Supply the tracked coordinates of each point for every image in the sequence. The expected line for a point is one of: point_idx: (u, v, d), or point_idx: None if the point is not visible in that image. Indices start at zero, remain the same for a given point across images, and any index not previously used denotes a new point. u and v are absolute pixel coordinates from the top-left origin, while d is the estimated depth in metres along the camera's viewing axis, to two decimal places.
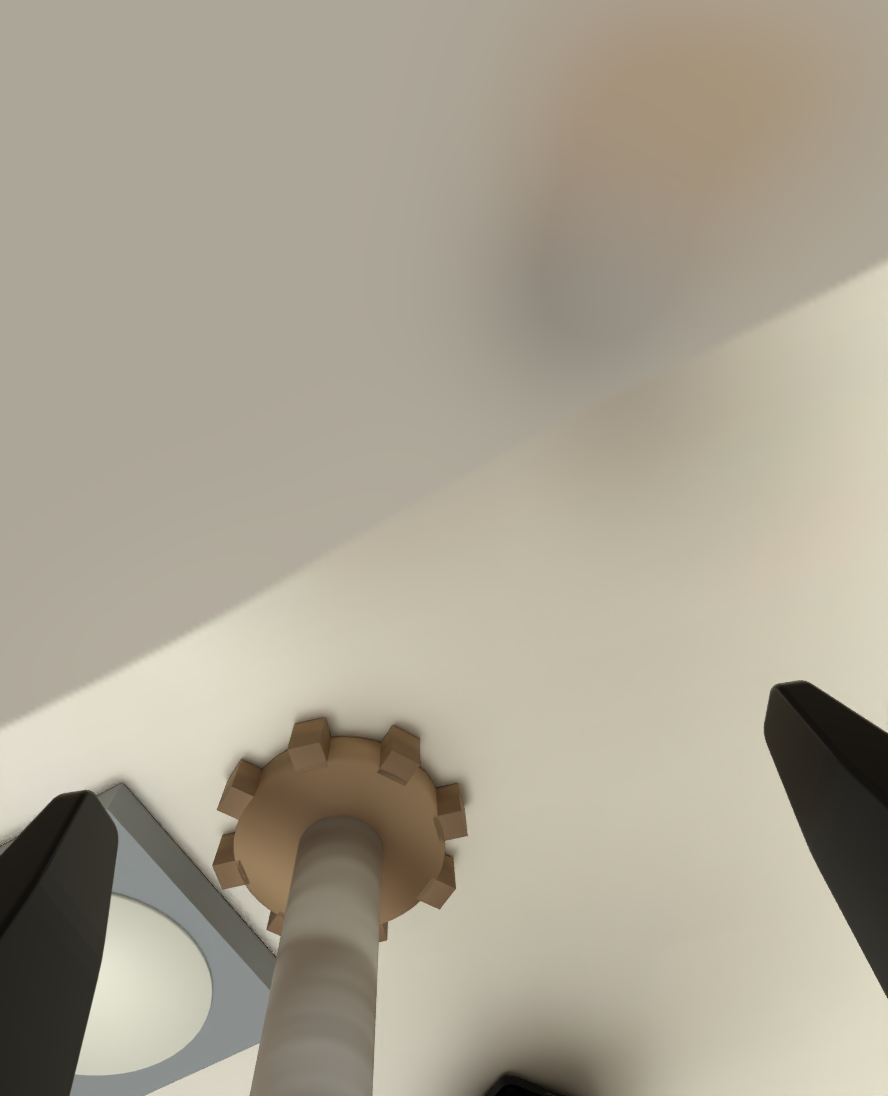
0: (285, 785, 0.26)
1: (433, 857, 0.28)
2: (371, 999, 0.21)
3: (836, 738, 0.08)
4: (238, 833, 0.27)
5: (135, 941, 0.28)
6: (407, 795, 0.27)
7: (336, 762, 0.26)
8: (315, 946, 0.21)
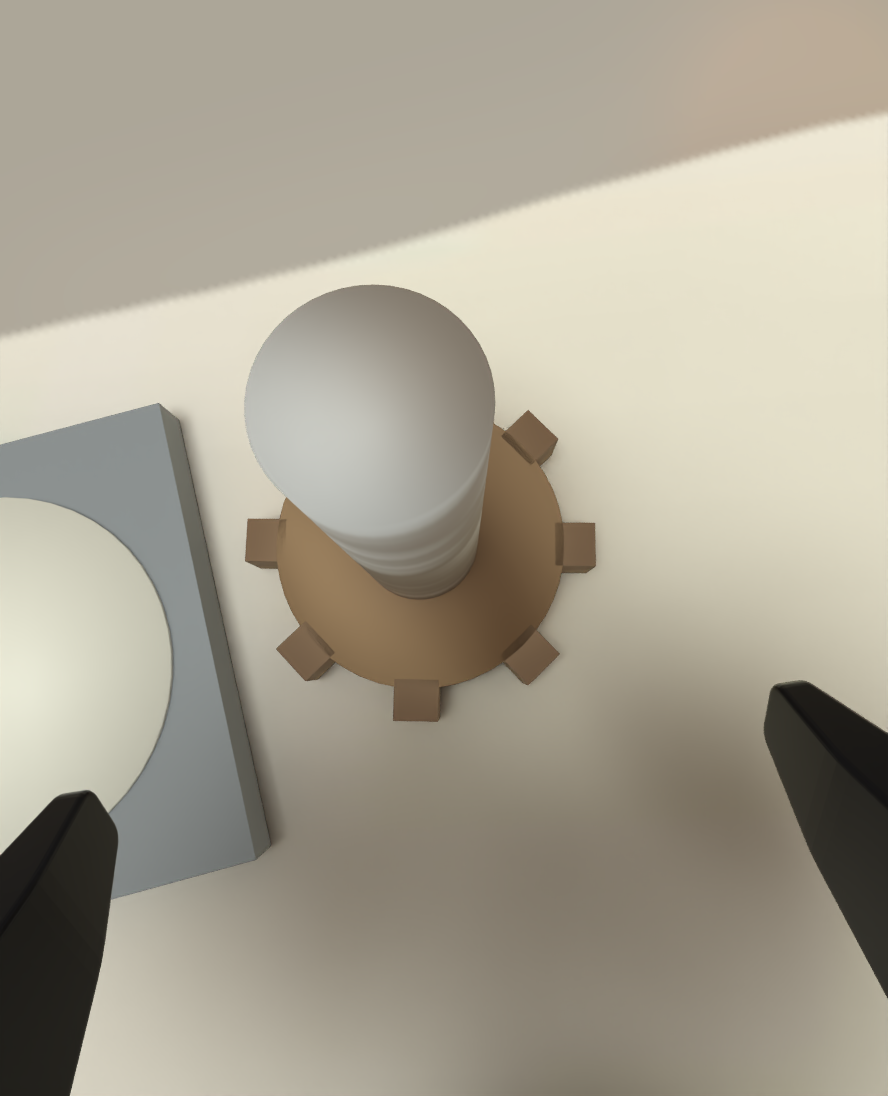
0: None
1: (541, 589, 0.20)
2: None
3: (836, 738, 0.08)
4: None
5: (96, 611, 0.20)
6: (530, 479, 0.20)
7: None
8: None
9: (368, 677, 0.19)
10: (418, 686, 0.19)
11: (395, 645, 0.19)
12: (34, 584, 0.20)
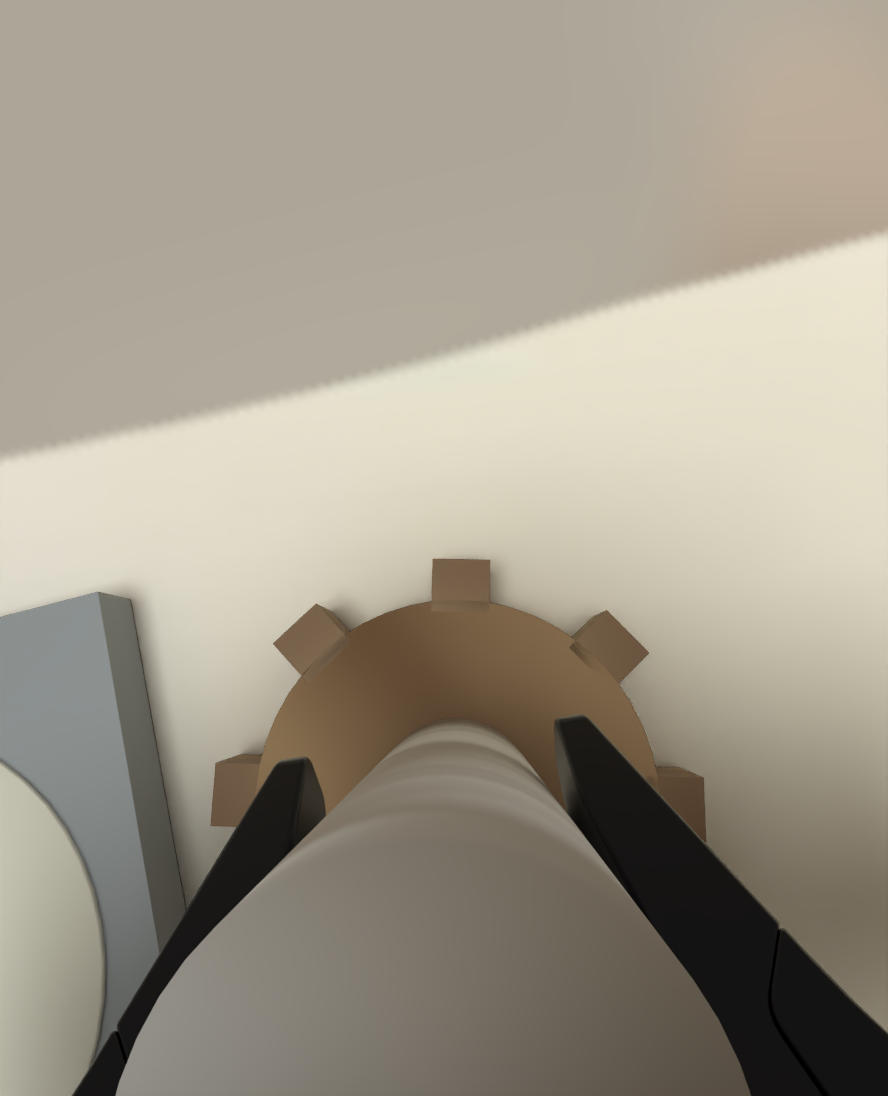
0: (405, 627, 0.15)
1: None
2: None
3: (587, 776, 0.08)
4: (289, 705, 0.15)
5: None
6: (611, 712, 0.14)
7: (505, 606, 0.15)
8: (466, 745, 0.09)
9: None
10: None
11: None
12: None
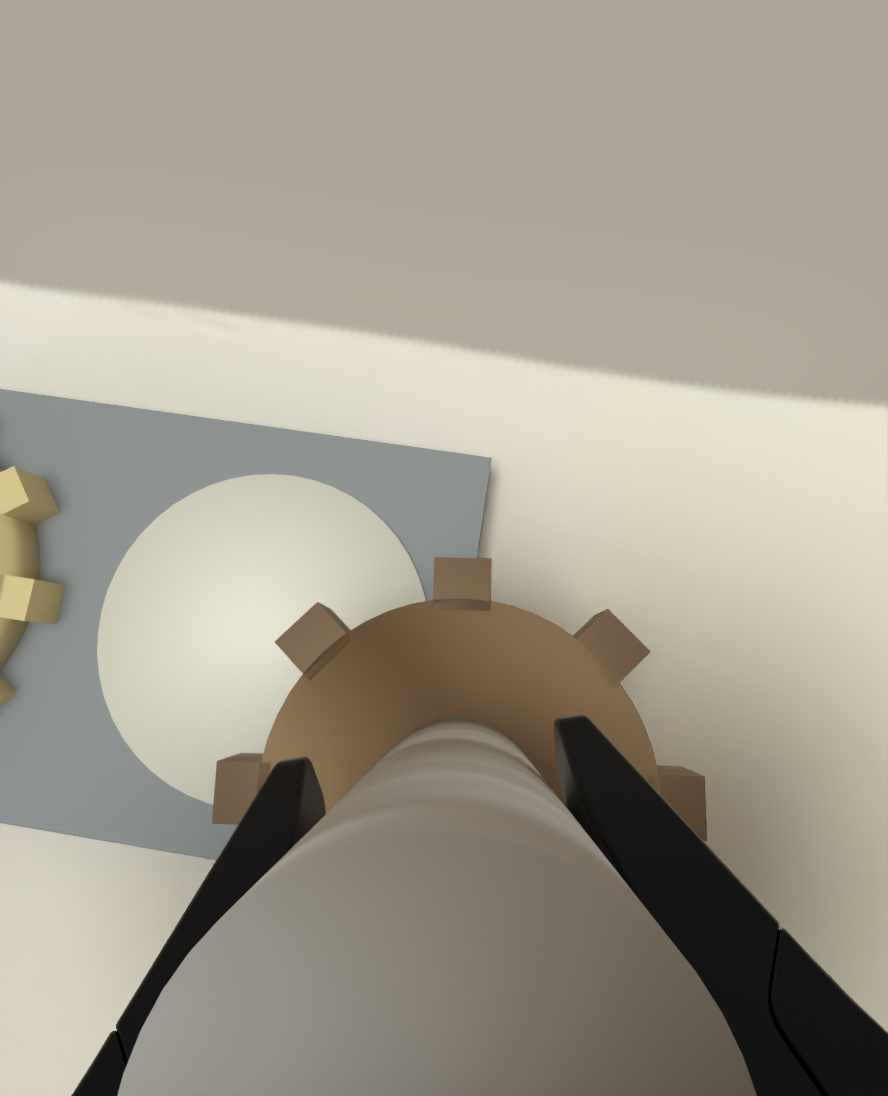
0: (406, 626, 0.15)
1: None
2: None
3: (587, 776, 0.08)
4: (290, 703, 0.15)
5: None
6: (612, 710, 0.14)
7: (506, 605, 0.15)
8: (468, 742, 0.09)
9: None
10: None
11: None
12: (329, 573, 0.22)
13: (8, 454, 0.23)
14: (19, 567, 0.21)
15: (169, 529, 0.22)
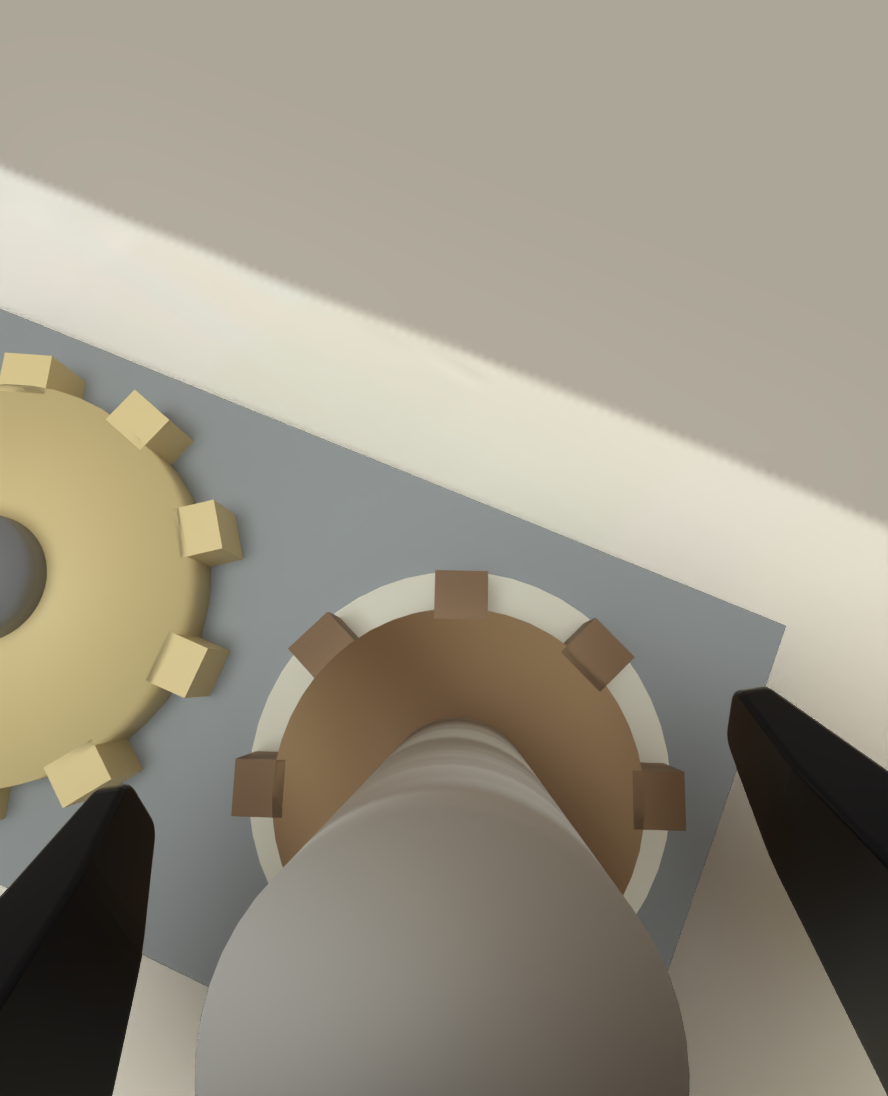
0: (410, 634, 0.16)
1: (615, 861, 0.15)
2: None
3: (792, 745, 0.08)
4: (303, 705, 0.16)
5: None
6: (599, 711, 0.16)
7: (502, 614, 0.16)
8: (465, 740, 0.10)
9: None
10: None
11: None
12: None
13: (197, 472, 0.19)
14: (188, 623, 0.17)
15: (372, 615, 0.18)
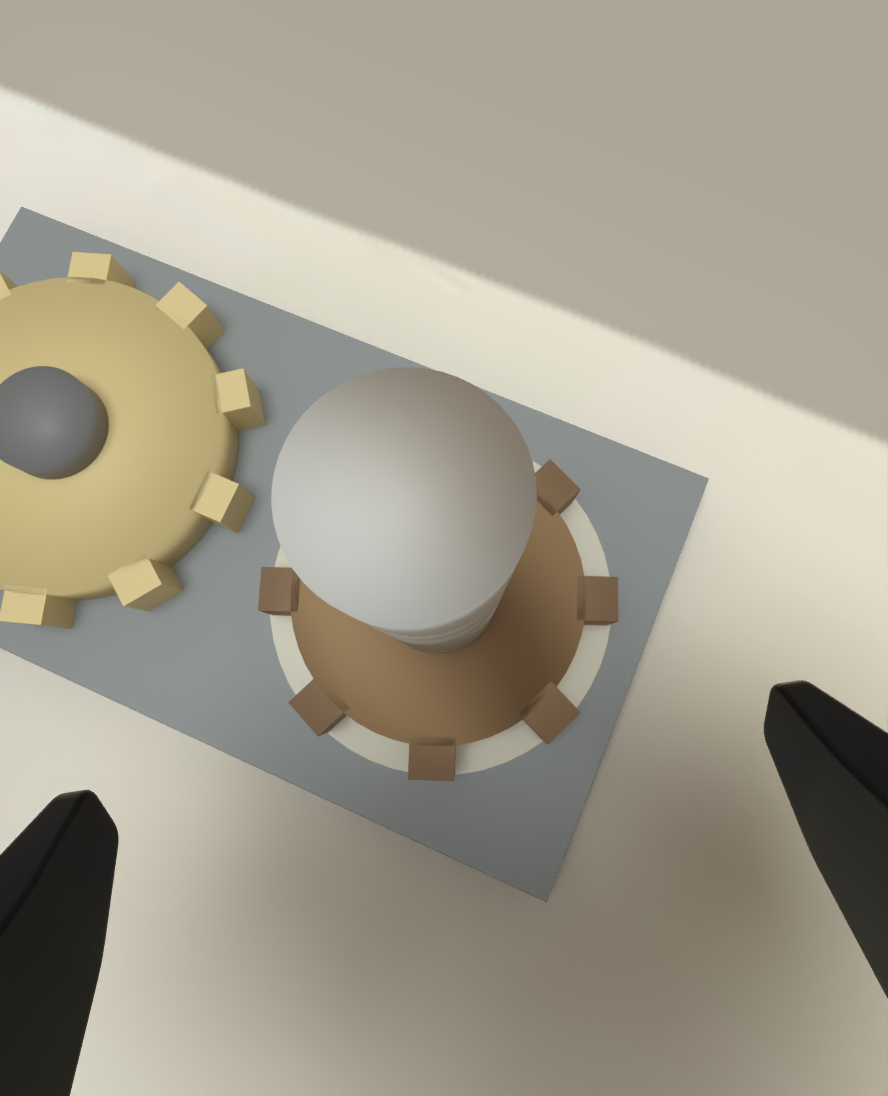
0: None
1: (561, 644, 0.19)
2: None
3: (836, 738, 0.08)
4: None
5: None
6: (552, 531, 0.20)
7: None
8: None
9: (383, 733, 0.19)
10: (434, 744, 0.19)
11: (411, 700, 0.19)
12: None
13: (228, 355, 0.23)
14: (222, 469, 0.21)
15: None
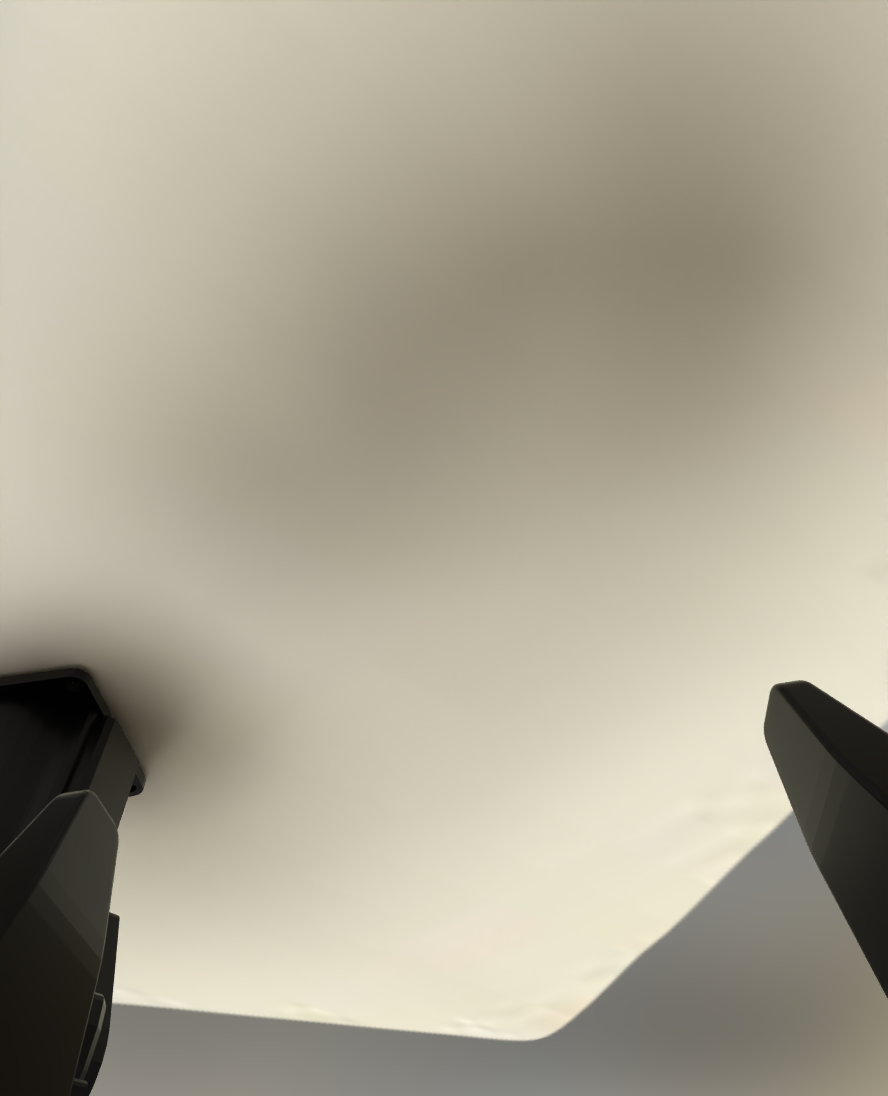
0: None
1: None
2: None
3: (836, 738, 0.08)
4: None
5: None
6: None
7: None
8: None
9: None
10: None
11: None
12: None
13: None
14: None
15: None
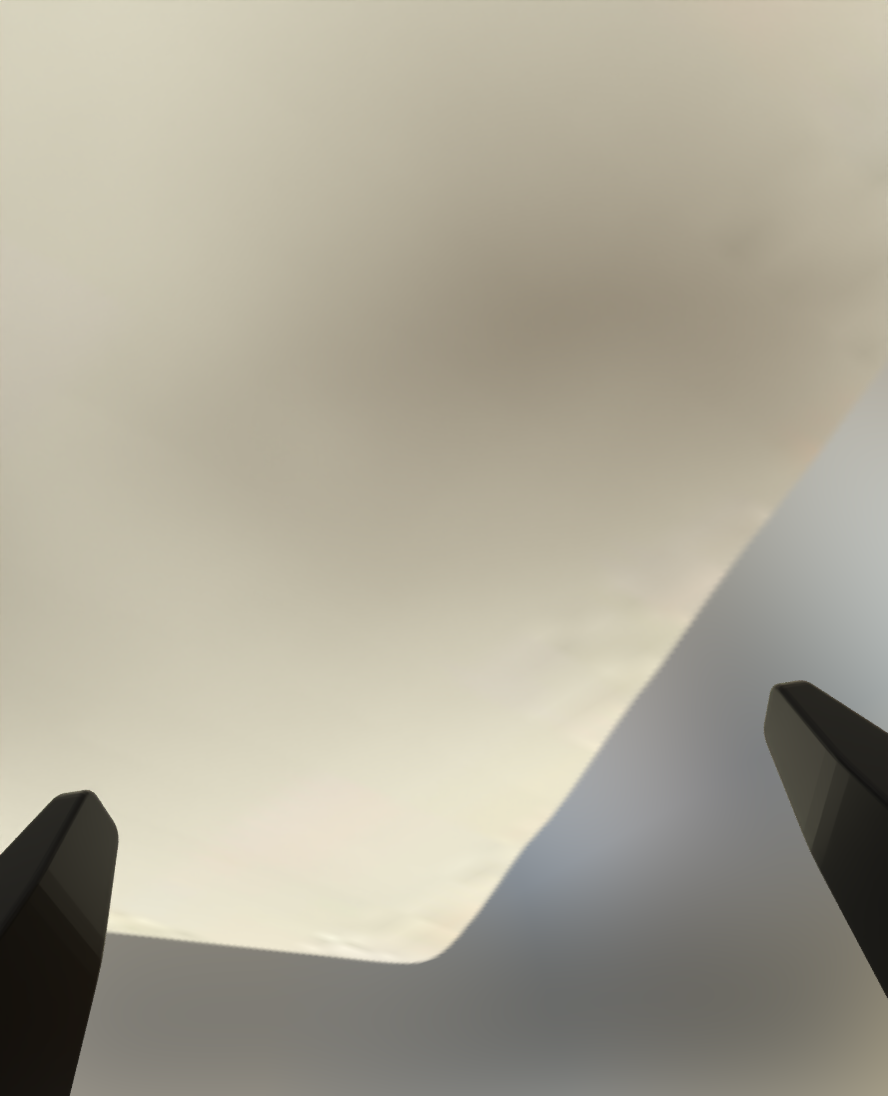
0: None
1: None
2: None
3: (836, 738, 0.08)
4: None
5: None
6: None
7: None
8: None
9: None
10: None
11: None
12: None
13: None
14: None
15: None
